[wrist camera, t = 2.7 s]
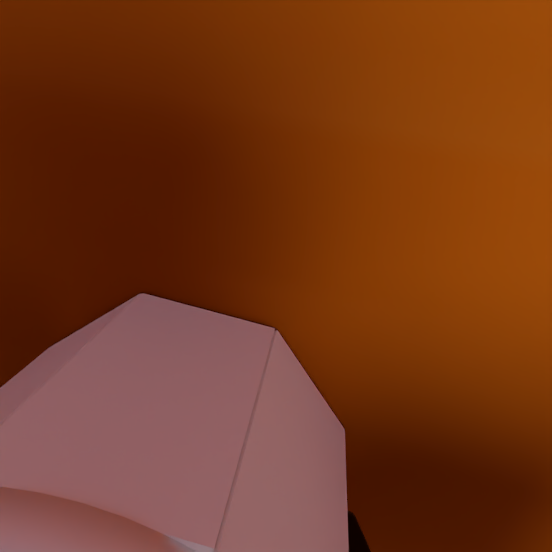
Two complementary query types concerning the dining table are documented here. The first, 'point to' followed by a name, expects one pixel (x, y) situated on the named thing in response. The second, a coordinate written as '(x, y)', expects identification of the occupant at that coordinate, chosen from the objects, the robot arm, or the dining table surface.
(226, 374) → the cap
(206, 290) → the dining table surface
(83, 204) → the dining table surface
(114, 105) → the dining table surface
